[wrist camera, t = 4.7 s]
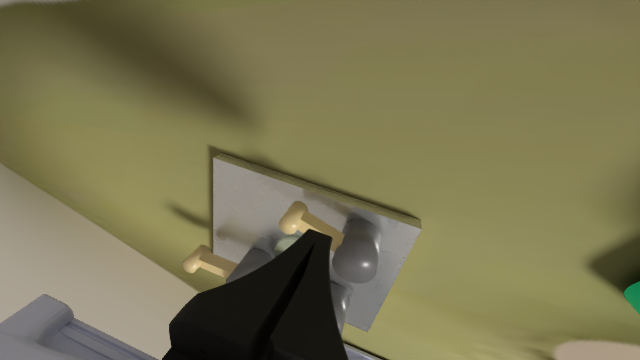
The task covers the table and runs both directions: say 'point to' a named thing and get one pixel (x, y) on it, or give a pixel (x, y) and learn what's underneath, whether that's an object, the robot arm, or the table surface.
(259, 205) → the tribrach plate
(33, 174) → the table surface
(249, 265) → the knob
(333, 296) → the knob
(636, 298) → the camera mount
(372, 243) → the knob
